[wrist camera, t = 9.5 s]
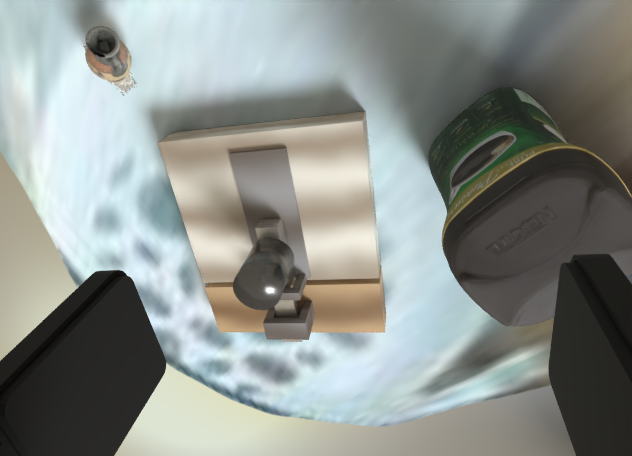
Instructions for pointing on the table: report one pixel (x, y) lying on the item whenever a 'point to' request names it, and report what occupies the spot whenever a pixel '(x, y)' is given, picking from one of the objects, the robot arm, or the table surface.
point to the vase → (109, 57)
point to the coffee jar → (523, 206)
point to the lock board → (284, 218)
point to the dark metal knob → (268, 273)
